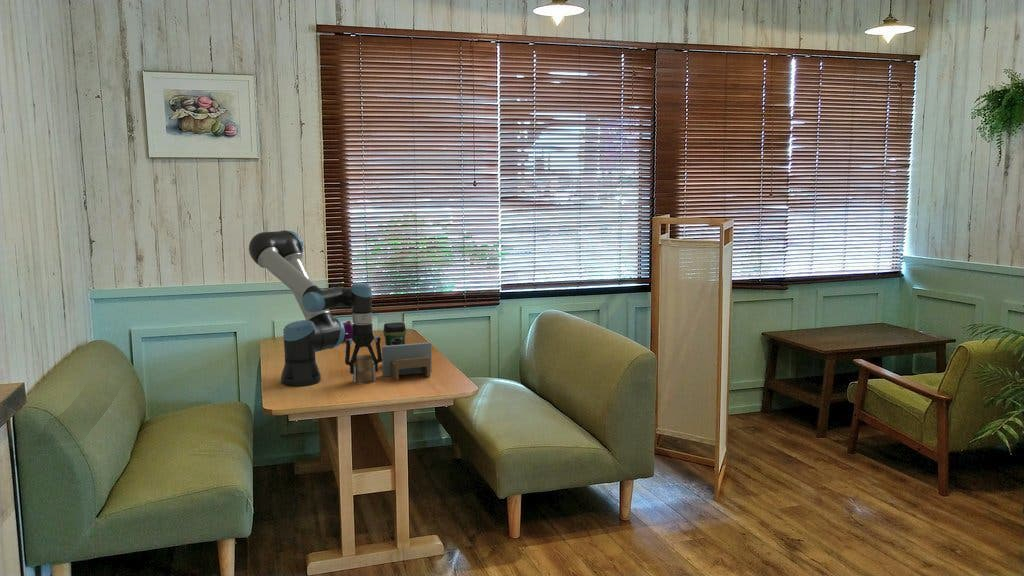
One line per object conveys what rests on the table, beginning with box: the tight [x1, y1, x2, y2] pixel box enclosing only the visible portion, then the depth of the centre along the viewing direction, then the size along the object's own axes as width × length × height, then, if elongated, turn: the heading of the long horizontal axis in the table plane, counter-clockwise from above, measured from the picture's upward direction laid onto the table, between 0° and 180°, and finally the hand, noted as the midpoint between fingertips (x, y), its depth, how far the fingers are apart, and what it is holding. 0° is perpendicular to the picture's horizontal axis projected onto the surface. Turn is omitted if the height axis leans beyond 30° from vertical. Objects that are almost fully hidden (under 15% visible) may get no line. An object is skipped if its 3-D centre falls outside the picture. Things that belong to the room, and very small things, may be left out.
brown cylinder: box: [354, 353, 374, 385], centre depth 307 cm, size 6×6×10 cm
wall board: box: [381, 341, 433, 381], centre depth 315 cm, size 20×10×12 cm, turn 112°
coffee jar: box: [383, 321, 407, 346], centre depth 333 cm, size 10×8×19 cm
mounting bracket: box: [342, 320, 353, 343], centre depth 385 cm, size 9×8×18 cm
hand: (364, 380), depth 307 cm, fingers open, 7 cm apart
